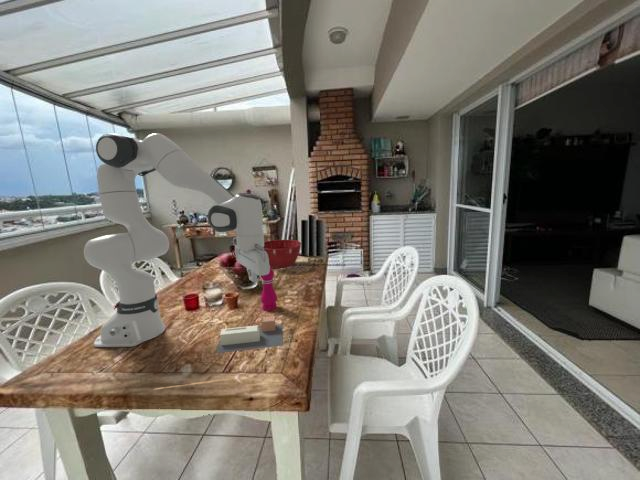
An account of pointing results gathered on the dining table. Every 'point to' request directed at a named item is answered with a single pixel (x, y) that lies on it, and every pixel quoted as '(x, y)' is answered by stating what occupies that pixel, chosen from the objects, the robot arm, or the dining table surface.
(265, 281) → the pepper mill
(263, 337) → the slate mat
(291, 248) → the mixing bowl
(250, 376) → the dining table surface
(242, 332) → the pale green slotted block
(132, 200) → the robot arm
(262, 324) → the stub
